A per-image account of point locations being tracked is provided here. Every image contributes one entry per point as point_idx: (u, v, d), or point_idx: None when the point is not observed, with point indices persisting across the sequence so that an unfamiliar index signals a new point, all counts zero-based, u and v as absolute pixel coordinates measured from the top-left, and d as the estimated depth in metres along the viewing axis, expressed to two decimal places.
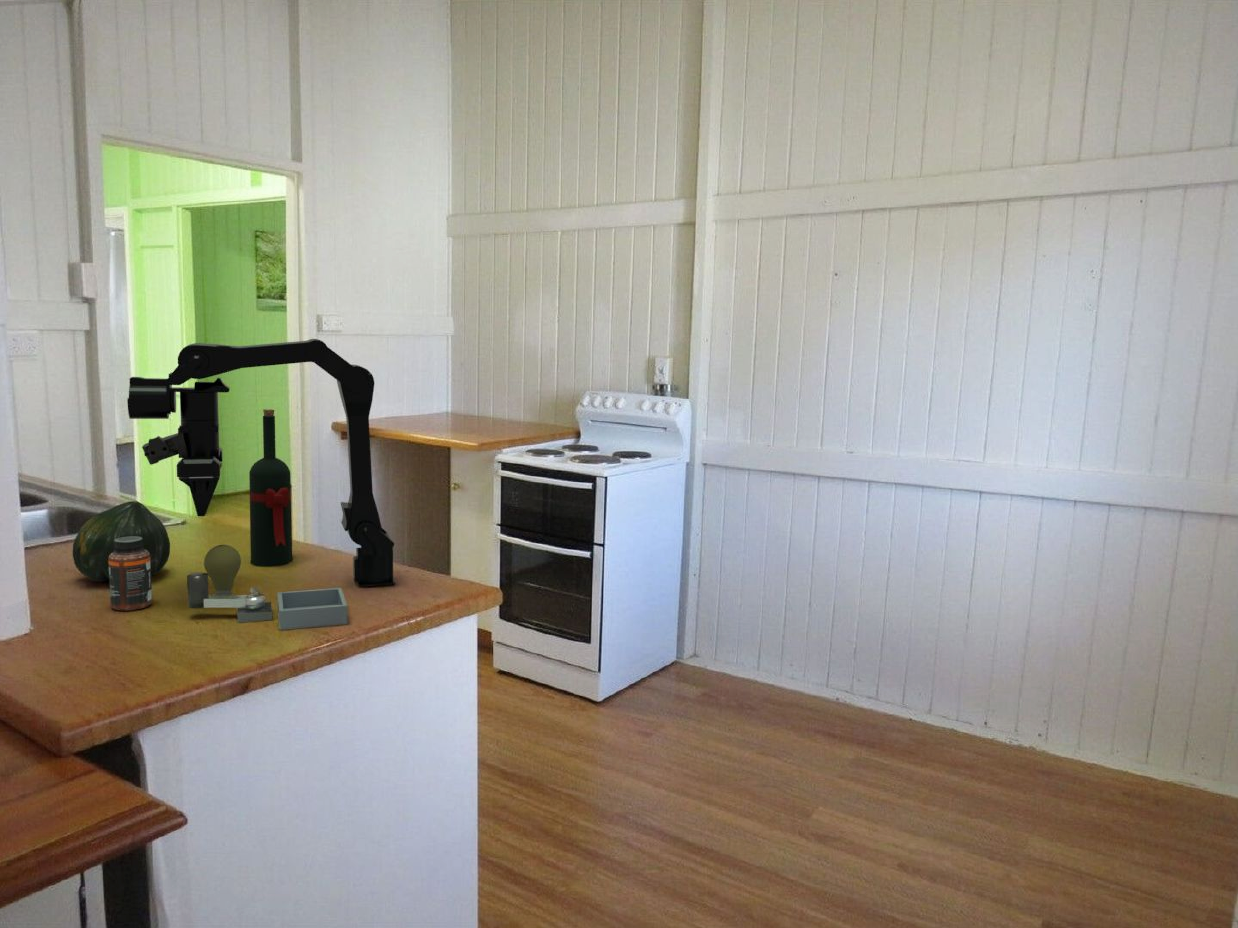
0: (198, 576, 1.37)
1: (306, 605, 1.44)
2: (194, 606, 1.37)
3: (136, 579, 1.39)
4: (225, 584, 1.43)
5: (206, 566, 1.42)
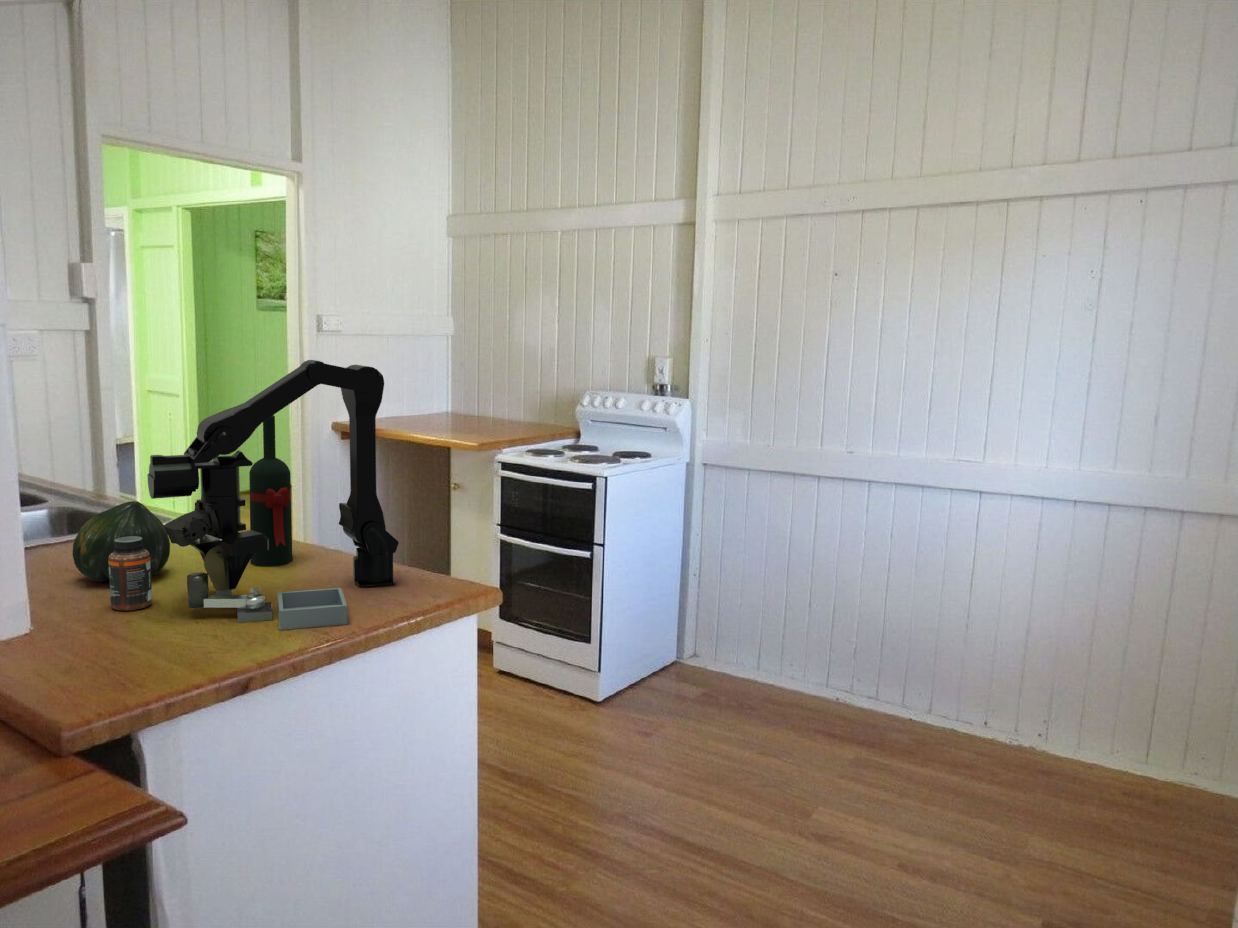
0: (198, 576, 1.37)
1: (306, 605, 1.44)
2: (194, 606, 1.37)
3: (136, 579, 1.39)
4: (225, 584, 1.43)
5: (206, 566, 1.42)
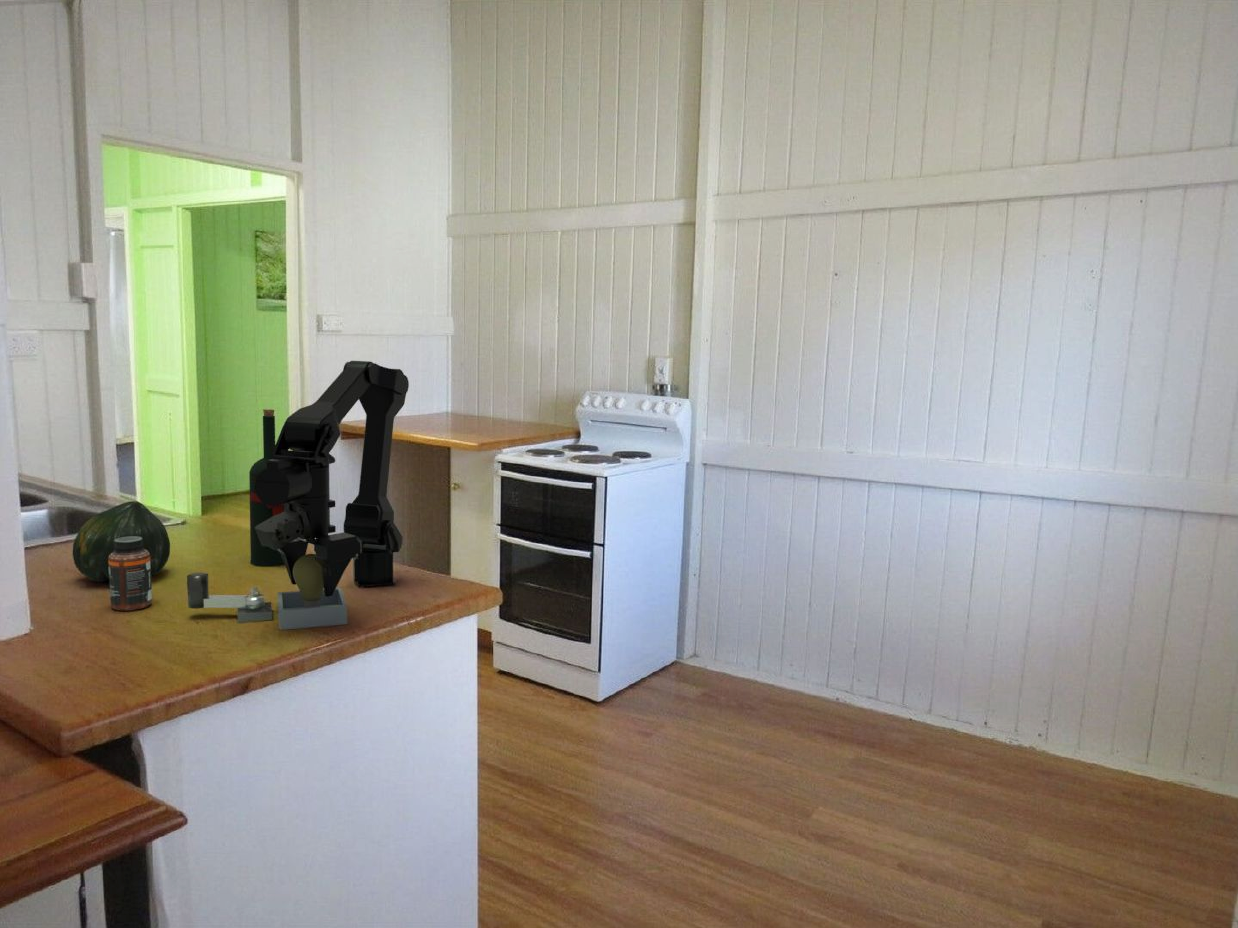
0: (198, 576, 1.37)
1: None
2: (194, 606, 1.37)
3: (136, 579, 1.39)
4: (314, 594, 1.39)
5: (295, 576, 1.37)
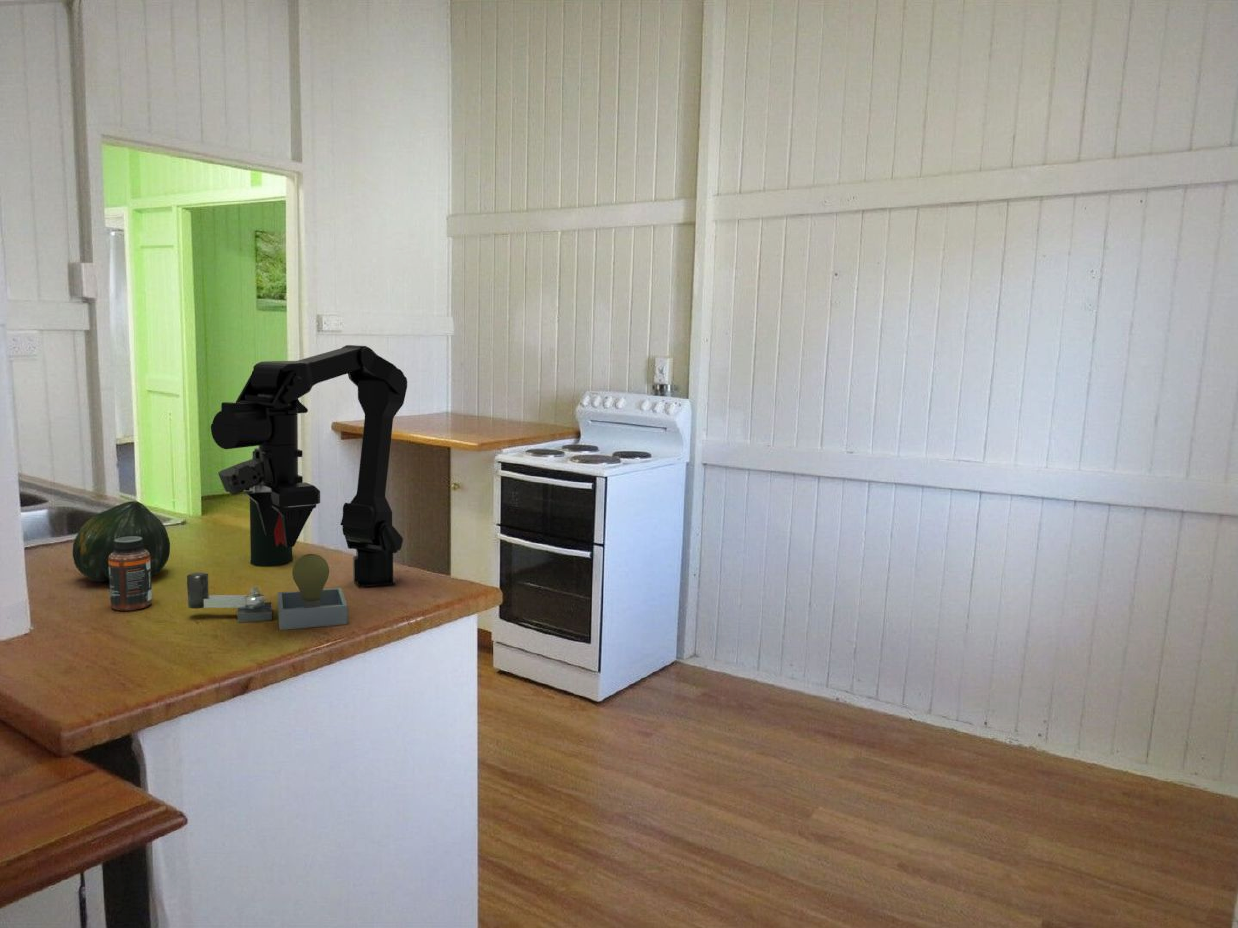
0: (198, 576, 1.37)
1: None
2: (194, 606, 1.37)
3: (136, 579, 1.39)
4: (314, 594, 1.38)
5: (295, 576, 1.37)
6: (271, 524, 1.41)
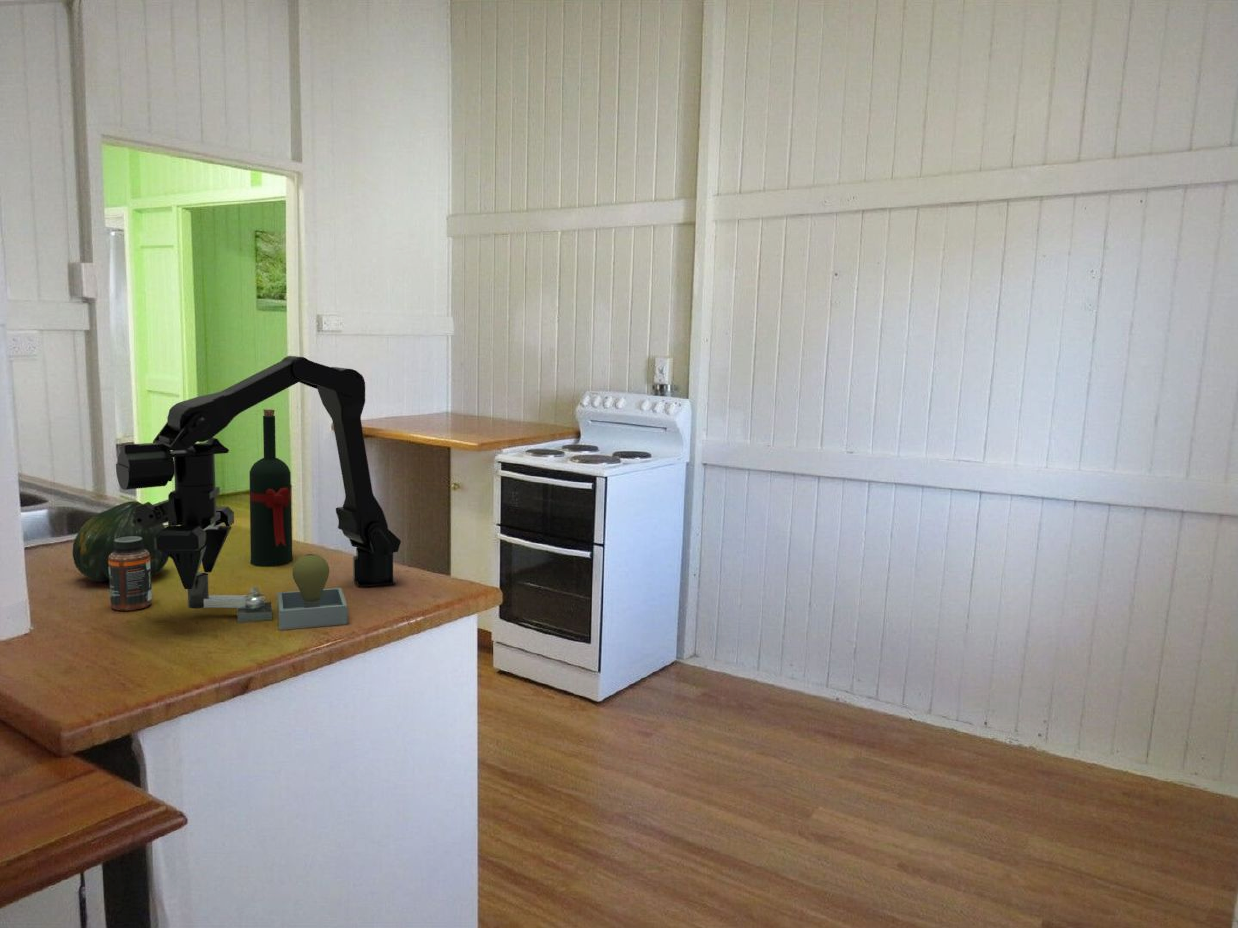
0: (198, 576, 1.37)
1: None
2: (194, 606, 1.37)
3: (136, 579, 1.39)
4: (314, 594, 1.38)
5: (295, 576, 1.37)
6: (209, 562, 1.42)
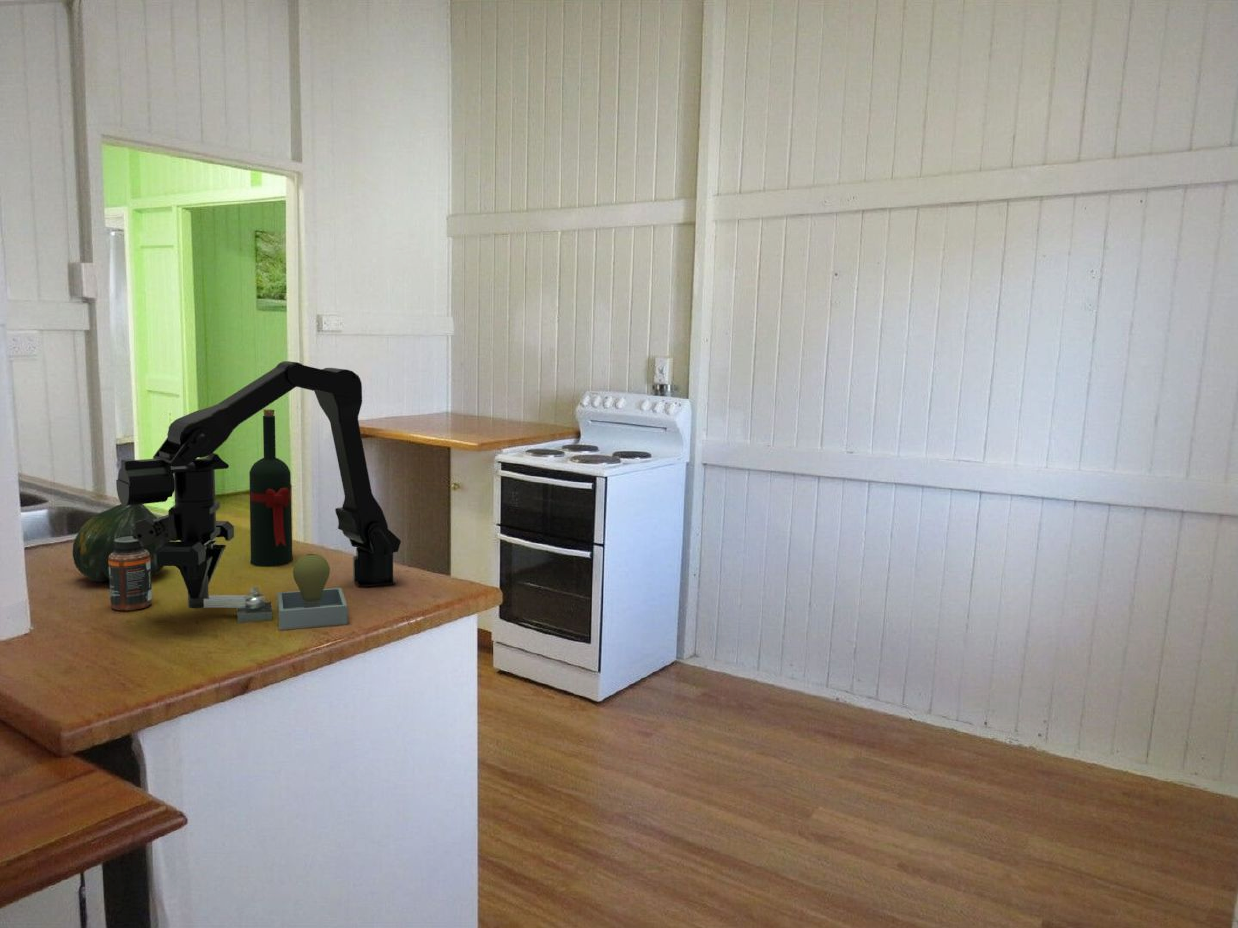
0: None
1: None
2: (194, 606, 1.37)
3: (136, 579, 1.39)
4: (314, 594, 1.39)
5: (295, 576, 1.37)
6: None
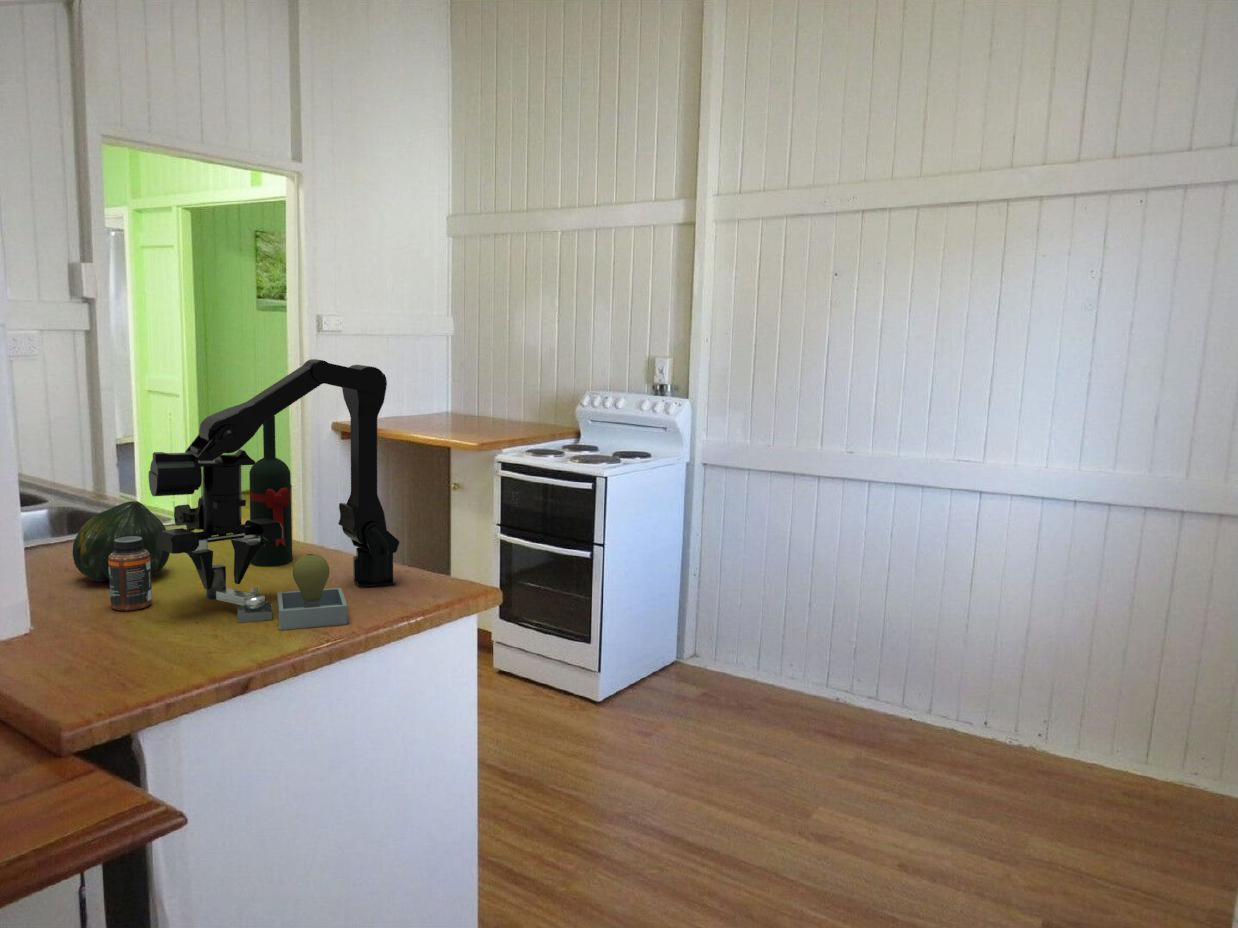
0: (213, 568, 1.41)
1: None
2: (208, 597, 1.41)
3: (136, 579, 1.39)
4: (314, 594, 1.38)
5: (295, 576, 1.37)
6: (237, 574, 1.45)
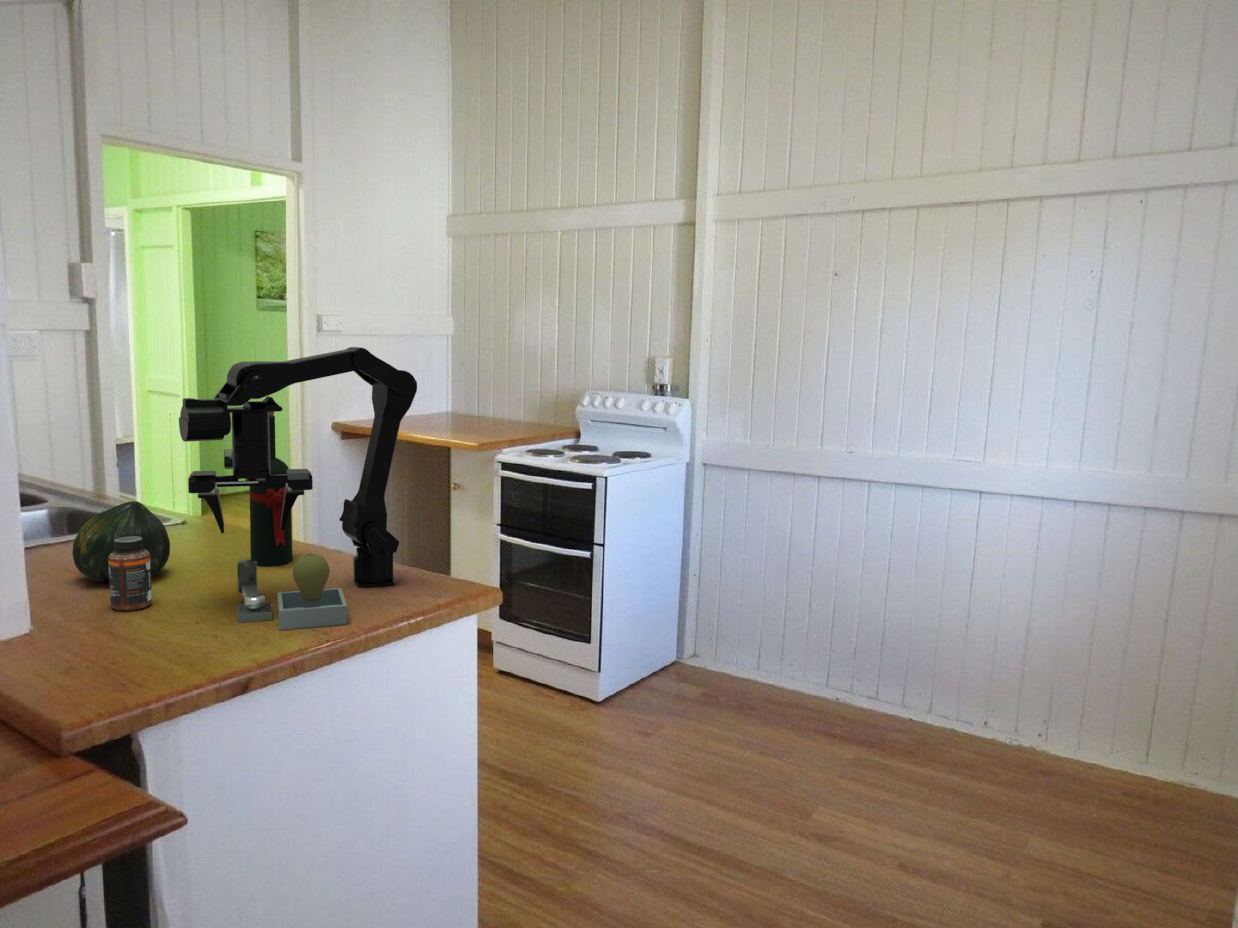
0: (242, 563, 1.45)
1: None
2: None
3: (136, 579, 1.39)
4: (314, 594, 1.39)
5: (295, 576, 1.37)
6: (281, 520, 1.47)
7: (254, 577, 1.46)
